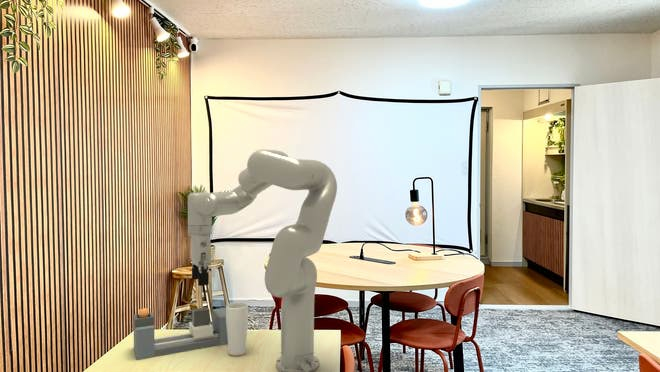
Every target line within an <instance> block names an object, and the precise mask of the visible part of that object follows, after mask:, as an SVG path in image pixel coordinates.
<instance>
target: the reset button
mask: <svg viewBox="0 0 660 372" xmlns="http://www.w3.org/2000/svg"><path fill="white" fill-rule="evenodd" d="M149 313H150V312H149V308H148V307H144V308H140V309H138V314H139V318H145V317H149Z"/></svg>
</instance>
